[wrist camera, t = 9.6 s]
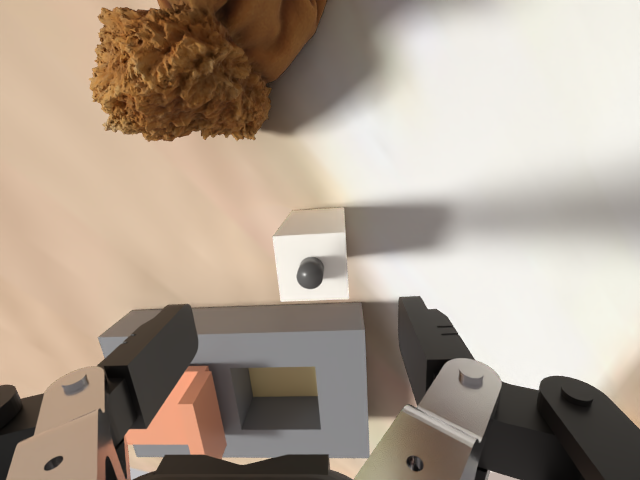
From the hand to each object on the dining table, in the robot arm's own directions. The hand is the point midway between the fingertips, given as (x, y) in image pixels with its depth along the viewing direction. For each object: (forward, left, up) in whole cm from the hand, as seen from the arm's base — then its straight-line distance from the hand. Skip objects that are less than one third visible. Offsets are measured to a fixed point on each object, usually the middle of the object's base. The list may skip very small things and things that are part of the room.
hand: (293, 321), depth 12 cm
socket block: (+7, +12, -13) cm, 19 cm away
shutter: (+12, +12, -9) cm, 19 cm away
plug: (0, 0, -13) cm, 13 cm away
